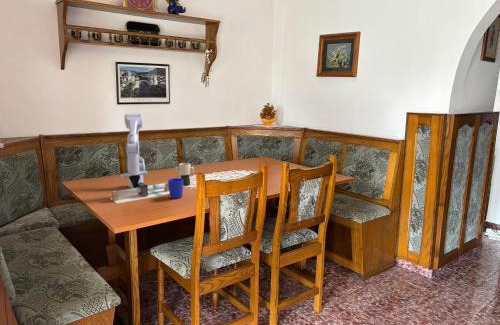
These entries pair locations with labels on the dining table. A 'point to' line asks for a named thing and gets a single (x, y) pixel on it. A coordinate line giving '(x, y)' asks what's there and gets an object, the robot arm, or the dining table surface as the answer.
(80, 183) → the dining table surface
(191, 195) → the dining table surface
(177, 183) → the mug
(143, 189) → the collar
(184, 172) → the character mug
